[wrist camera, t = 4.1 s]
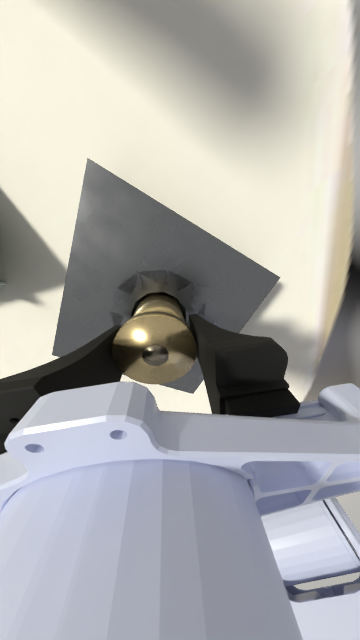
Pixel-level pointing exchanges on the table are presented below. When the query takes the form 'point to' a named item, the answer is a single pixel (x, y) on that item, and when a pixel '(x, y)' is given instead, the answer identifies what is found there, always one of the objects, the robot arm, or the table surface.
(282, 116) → the table surface
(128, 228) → the grey flat block
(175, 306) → the round door knob
